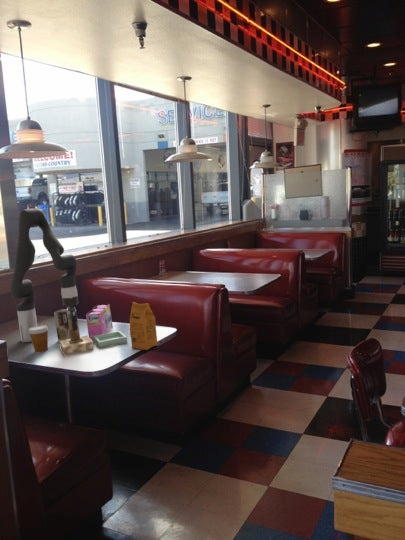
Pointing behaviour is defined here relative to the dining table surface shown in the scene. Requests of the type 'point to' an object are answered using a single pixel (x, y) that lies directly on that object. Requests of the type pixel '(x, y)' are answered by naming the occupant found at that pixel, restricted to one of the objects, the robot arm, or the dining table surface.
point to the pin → (73, 334)
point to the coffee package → (142, 327)
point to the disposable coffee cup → (39, 337)
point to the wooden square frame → (76, 345)
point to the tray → (110, 339)
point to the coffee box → (62, 324)
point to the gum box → (99, 320)
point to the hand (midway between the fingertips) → (74, 329)
